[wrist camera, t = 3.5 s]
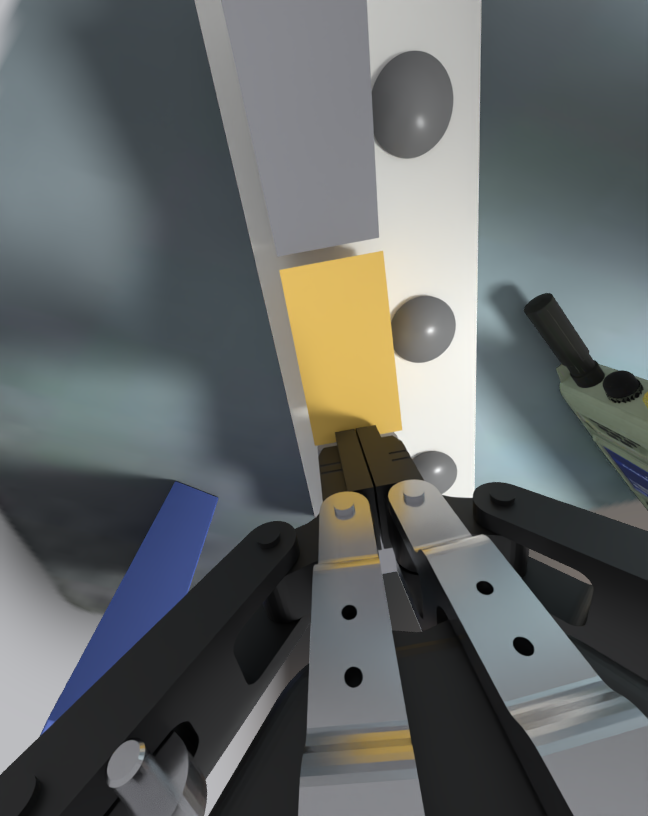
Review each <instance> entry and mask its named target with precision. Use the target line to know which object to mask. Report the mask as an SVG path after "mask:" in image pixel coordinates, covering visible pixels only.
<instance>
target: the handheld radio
mask: <svg viewBox="0 0 648 816" xmlns="http://www.w3.org/2000/svg"><path fill="white" fill-rule="evenodd" d="M524 312H525V313H526V315H527V316H528V318H529V319H530V320H531V322H532V323H533V324H534V326H535V327H536V329H537V330H538V331H539V333H540V334H541V336H542V337H543V338H544V340H545V341H546V343H547V344H548V345H549V347H550V348H551V349H552V351H553V352H554V354H555V355H556V356H557V358H558V359H559V361H560V362H561V363H562V364H561V365H560V366H559V367H557V368H556V370H557V373H558V376H559V379H560V382H561V383H560V385H559V386H560V392H561V395H562V396H563V398H564V399H565V400H566V402H567V403H568V405H569V406H570V407H571V409H572V410H573V411H574V413H575V414H576V415H577V417H578V418H579V420H580V421H581V422H582V424H583V425H584V426H585V428H586V429H587V430H588V432H589V433H590V434H591V436H592V439H593V441H595V442H596V444H597V445H598V446H599V448H600V449H601V450H602V452H603V453H604V454H605V456H606V457H607V458H608V460H609V461H610V462H611V464H612V465H613V466H614V468H615V469H616V470H617V471H618V473H619V474H620V475H621V477H622V478H623V479H624V481H625V482H626V483H627V485H628V486H629V487H630V489H631V491H633V492H634V494H635V495H636V496H637V497H638V499H639V500H640V501H641V503H642V504H643V505H644V507H645V508H646V509H647V510H648V380H645V379H642V378H639V377H636V376H634V375H633V374H632V373H630V372H628V371H618V370H615V369H612V368H609V367H606V366H603V365H600V364H598V363H597V362H596V361H595V360H593V359H592V358H591V356H590V355H589V350H588V348H587V347H586V345H585V344H584V342H583V341H582V339H581V338H580V336H579V335H578V333H577V332H576V330H575V329H574V327H573V326H572V324H571V323H570V321H569V320H568V318H567V317H566V315H565V314H564V312H563V311H562V309H561V307H560V306H559V304H558V303H557V301H556V300H555V298H554V297H553V295H552V294H550V293H545V294H542V295H539V296H537V297H535V298H534V299H532V300H531V301H530V302H529V303H528V304H527V305H526V306H525V308H524Z"/></svg>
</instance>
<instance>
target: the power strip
mask: <svg viewBox="0 0 648 816" xmlns="http://www.w3.org/2000/svg"><path fill="white" fill-rule="evenodd" d="M194 1H195V5H196V9H197V13H198V18H199V22H200V26H201V31H202V35H203V39H204V43H205V48H206V52H207V56H208V61H209V65H210V69H211V73H212V78H213V82H214V86H215V91H216V95H217V99H218V103H219V108H220V112H221V116H222V121H223V125H224V129H225V134H226V138H227V142H228V146H229V151H230V155H231V159H232V164H233V168H234V172H235V176H236V181H237V185H238V189H239V194H240V198H241V202H242V206H243V211H244V215H245V219H246V224H247V228H248V232H249V236H250V241H251V245H252V249H253V254H254V258H255V262H256V267H257V271H258V275H259V279H260V284H261V288H262V292H263V297H264V301H265V305H266V309H267V314H268V318H269V322H270V327H271V331H272V335H273V339H274V344H275V348H276V352H277V357H278V361H279V365H280V369H281V374H282V378H283V382H284V387H285V391H286V395H287V400H288V404H289V408H290V412H291V417H292V421H293V425H294V430H295V434H296V438H297V442H298V447H299V451H300V455H301V460H302V464H303V468H304V472H305V477H306V481H307V485H308V490H309V494H310V498H311V502H312V507H313V511H314V515H315V518H316V517H317V515H318V514H319V512H320V507H321V504H322V503H323V499H322V490H321V480H320V470H319V461H318V449H317V446H315V444H314V439H313V434H312V429H311V424H310V419H309V414H308V409H307V404H306V400H305V395H304V390H303V385H302V380H301V375H300V370H299V365H298V360H297V355H296V350H295V345H294V340H293V336H292V331H291V326H290V321H289V316H288V311H287V306H286V301H285V296H284V291H283V286H282V281H281V277H280V272H279V270H282V269H287V268H293V267H298V266H304V265H309V264H314V263H320V262H325V261H330V260H336V259H341V258H346V257H352V256H357V255H362V254H368V253H373V252H379V251H383V254H384V263H385V272H386V281H387V291H388V300H389V309H390V319H391V328H392V337H393V347H394V356H395V365H396V375H397V384H398V393H399V403H400V412H401V421H402V430H401V431H396V432H394V433H395V434H396V435H397V436H398V439H399V440H401V441H402V442H403V444H404V446H405V447H406V449H407V451H408V453H409V454H410V456H411V458H412V460H413V462H414V463H415V465H416V467H417V469H418V470H419V472H420V474H421V476H422V477H423V479H424V481H426V482H428V483H430V484H432V485H434V486H435V487H436V488H437V489H438V490H439V492H440V493H441V494H442V495H445V496H450V497H463V498H473V493H474V479H475V411H476V343H477V274H478V206H479V137H480V69H481V1H482V0H367V14H368V33H369V52H370V71H371V90H372V110H373V129H374V148H375V167H376V186H377V205H378V225H379V238H375V239H370V240H364V241H359V242H354V243H348V244H343V245H337V246H332V247H327V248H321V249H316V250H311V251H305V252H300V253H295V254H289V255H284V256H279V257H277V253H276V249H275V244H274V240H273V235H272V231H271V226H270V222H269V217H268V212H267V208H266V203H265V199H264V194H263V190H262V185H261V181H260V176H259V171H258V167H257V162H256V158H255V153H254V149H253V144H252V140H251V135H250V131H249V126H248V121H247V117H246V112H245V108H244V103H243V99H242V94H241V90H240V85H239V80H238V76H237V71H236V67H235V62H234V58H233V53H232V49H231V44H230V40H229V35H228V30H227V26H226V21H225V17H224V12H223V8H222V3H221V0H194Z"/></svg>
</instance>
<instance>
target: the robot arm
mask: <svg viewBox="0 0 648 816" xmlns="http://www.w3.org/2000/svg"><path fill="white" fill-rule="evenodd" d="M335 437H336V442H337V446H331V447H326V448H323V449H322V451H321V452H320V454H319V456H318V461H319V470H320V480H321V490H322V499H323V503H322V504H321V507H320V512H319V514H318V515H317V517H316V518H314V519H313V520H312V521H310V522H309V523H307V524H305V525H303V526H301V527H298V528H296V529H294V528H293V527H292V526H291V525H290V524H288V523H286V522H282V521H273V522H268V523H265V524H262V525H260V526H258V527H257V528H255V529H254V530H253V531H251V532H250V533H249V534H248V535H247V536H246V537H245V538H244V539H243V540H242V541H241V542H240V543H239V544H238V545H237V546H236V547H235V548H234V549H233V550H232V551H231V552H230V553H229V554H228V555H227V556H226V557H224V558H223V559H222V560H221V561H220V562H219V563H218V564H217V565H216V566H215V567H214V568H213V569H212V570H211V571H210V572H209V573H208V574H207V575H206V576H205V577H204V578H203V579H202V580H201V581H200V582H199V583H198V584H197V585H196V586H195V587H194V588H192V589H191V590H190V591H189V592H188V593H187V594H186V595H185V596H184V597H183V598H182V599H181V600H180V601H179V602H178V603H177V604H176V605H175V606H174V607H173V608H172V609H171V610H170V611H169V612H168V613H167V614H166V615H165V616H164V617H163V618H162V619H161V620H159V621H158V622H157V623H156V624H155V625H154V626H153V627H152V628H151V629H150V630H149V631H148V632H147V633H146V634H145V635H144V636H143V637H142V638H141V639H140V640H139V641H138V642H137V643H136V644H135V645H134V646H133V647H132V648H131V649H130V650H129V651H128V652H126V653H125V654H124V655H123V656H122V657H121V658H120V659H119V660H118V661H117V662H116V663H115V664H114V665H113V666H112V667H111V668H110V669H109V670H108V671H107V672H106V673H105V674H104V675H103V676H102V677H101V678H100V679H99V680H98V681H97V682H96V683H95V684H93V685H92V686H91V687H90V688H89V689H88V690H87V691H86V692H85V693H84V694H83V695H82V696H81V697H80V698H79V699H78V700H77V701H76V702H75V703H74V704H73V705H72V706H71V707H70V708H69V709H68V710H67V711H66V712H65V713H64V714H63V715H62V716H60V717H59V718H58V719H57V720H56V721H55V722H54V723H53V724H52V725H51V726H50V727H49V728H48V729H47V730H46V731H45V732H44V733H43V734H42V735H41V736H40V737H39V738H38V739H37V740H36V741H35V742H34V743H33V744H32V745H31V746H30V747H28V749H27V750H26V751H24V752H23V753H22V754H21V755H20V756H19V757H18V758H17V759H16V760H15V761H14V762H13V763H12V764H11V765H10V766H9V767H8V768H7V769H6V770H5V771H4V772H3V773H2V774H1V775H0V816H204V814H205V808H206V803H207V784H206V778H207V776H208V775H209V774H210V772H211V771H212V769H213V768H214V766H215V765H216V763H217V762H218V760H219V759H220V757H221V756H222V754H223V753H224V751H225V750H226V748H227V747H228V745H229V744H230V742H231V741H232V739H233V738H234V736H235V735H236V733H237V732H238V730H239V729H240V727H241V726H242V724H243V723H244V721H245V720H246V718H247V717H248V715H249V714H250V712H251V711H252V709H253V708H254V706H255V705H256V703H257V702H258V700H259V699H260V697H261V696H262V694H263V693H264V691H265V690H266V688H267V687H268V685H269V684H270V682H271V681H272V679H273V678H274V676H275V675H276V673H277V672H278V670H279V669H280V667H281V666H282V664H283V663H284V662H285V660H286V658H287V657H288V655H289V654H290V652H291V651H292V650H293V648H294V646H295V645H296V644H297V642H298V640H299V639H300V638H301V636H302V635H303V633H304V632H305V630H306V628H307V627H308V626H309V624H310V623H311V635H310V660H309V664H308V665H306V666H305V667H304V668H303V669H302V670H301V671H299V673H298V674H297V675H296V676H295V677H294V678H293V679H292V680H291V681H290V682H289V683H288V685H287V686H286V687H285V689H284V690H283V691H282V693H281V694H280V696H279V697H278V699H277V700H276V702H275V704H274V706H273V707H272V709H271V711H270V712H269V714H268V716H267V717H266V719H265V721H264V722H263V724H262V726H261V727H260V729H259V731H258V733H257V735H256V736H255V738H254V740H253V741H252V743H251V744H250V746H249V748H248V750H247V751H246V753H245V755H244V756H243V758H242V760H241V761H240V763H239V765H238V767H237V768H236V770H235V772H234V773H233V775H232V777H231V778H230V780H229V782H228V783H227V785H226V787H225V788H224V790H223V792H222V794H221V795H220V797H219V799H218V800H217V802H216V804H215V805H214V807H213V809H212V811H211V812H210V814H209V815H208V816H648V531H645V530H642V529H639V528H637V527H634V526H630V525H628V524H625V523H622V522H619V521H616V520H613V519H610V518H607V517H605V516H602V515H599V514H596V513H593V512H590V511H587V510H584V509H581V508H579V507H576V506H573V505H570V504H567V503H564V502H561V501H558V500H555V499H552V498H550V497H547V496H544V495H541V494H538V493H535V492H532V491H529V490H526V489H523V488H521V487H518V486H515V485H511V484H508V483H501V482H492V483H486V484H483V485H481V486H479V487H477V488H476V489H475V491H474V493H473V498H463V497H450V496H445V495H442V494H441V493H440V492H439V490H438V489H437V488H436V487H435V486H434V485H432V484H430V483H428V482H426V481H424V479H423V477H422V476H421V474H420V472H419V470H418V469H417V467H416V465H415V463H414V462H413V460H412V458H411V456H410V454H409V453H408V451H407V449H406V447H405V446H404V444H403V442H402V441H401V440H399V439H398V438H396V437H394V436H393V435H391V436H386V437H381V436H380V433H379V431H378V429H377V427H376V425H371V426H366V427H360V428H356V432H355V429H350V430H344V431H339V432H335ZM380 537H381V539H380ZM381 540H382V544H383V547H384V549H388V548H393V551H394V554H395V560H396V568H397V572H398V575H399V577H400V579H401V581H402V584H403V587H404V589H405V592H406V594H407V596H408V598H409V601H410V604H411V606H412V609H413V611H414V613H415V616H416V618H417V621H418V623H419V625H420V628H421V631H422V632H405V631H392V629H391V623H390V617H389V611H388V606H387V601H386V594H385V589H384V583H383V577H382V571H381V565H380V560H379V552H378V550H382V547H381ZM529 549H531V550H534V551H536V552H538V553H541V554H543V555H545V556H547V557H549V558H551V559H554V560H556V561H558V562H560V563H562V564H565V565H567V566H569V567H571V568H573V569H575V570H577V571H579V572H581V573H582V574H583V575H585V576H586V577H587V578H588V579H589V580H590V582H591V583H592V585H589V584H587V583H584V582H582V581H580V580H578V579H576V578H574V577H571V576H569V575H567V574H565V573H563V572H561V571H558V570H557V569H554V568H552V567H550V566H548V565H546V564H544V563H542V562H539V561H537V560H535V559H533V558H531V557H529Z"/></svg>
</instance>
